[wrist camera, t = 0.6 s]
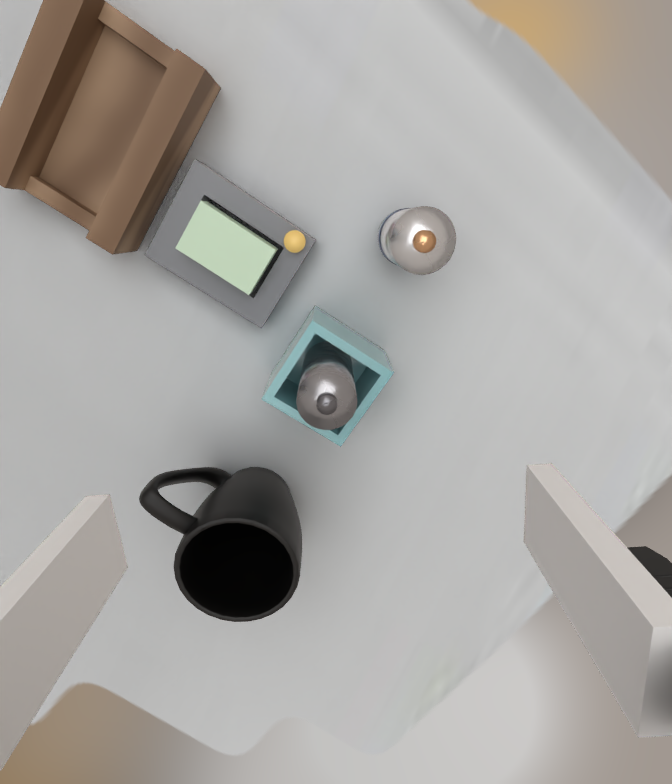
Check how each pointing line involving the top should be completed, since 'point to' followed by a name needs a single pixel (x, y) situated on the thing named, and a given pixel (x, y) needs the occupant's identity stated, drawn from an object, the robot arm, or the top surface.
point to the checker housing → (213, 186)
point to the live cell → (417, 239)
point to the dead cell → (326, 387)
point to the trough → (100, 119)
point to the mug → (233, 541)
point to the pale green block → (226, 247)
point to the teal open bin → (366, 365)
